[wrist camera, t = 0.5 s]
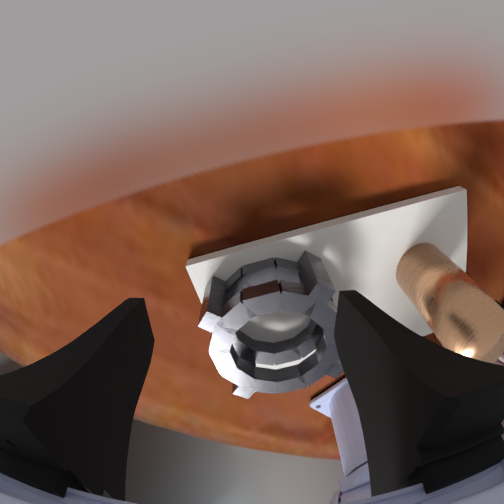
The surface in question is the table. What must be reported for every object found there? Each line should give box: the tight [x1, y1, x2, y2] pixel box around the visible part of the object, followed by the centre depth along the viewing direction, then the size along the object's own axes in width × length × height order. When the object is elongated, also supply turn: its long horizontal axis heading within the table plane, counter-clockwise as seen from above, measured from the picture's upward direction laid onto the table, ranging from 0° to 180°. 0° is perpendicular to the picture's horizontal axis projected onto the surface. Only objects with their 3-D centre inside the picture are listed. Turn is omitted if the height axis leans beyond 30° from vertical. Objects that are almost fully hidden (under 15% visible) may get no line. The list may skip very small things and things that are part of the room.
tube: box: [396, 243, 504, 363], centre depth 17 cm, size 4×4×9 cm
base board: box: [186, 186, 467, 369], centre depth 22 cm, size 20×12×1 cm, turn 106°
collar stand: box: [198, 250, 344, 399], centre depth 20 cm, size 8×8×4 cm
